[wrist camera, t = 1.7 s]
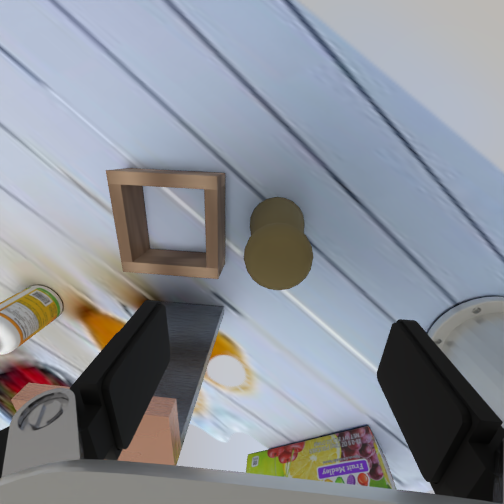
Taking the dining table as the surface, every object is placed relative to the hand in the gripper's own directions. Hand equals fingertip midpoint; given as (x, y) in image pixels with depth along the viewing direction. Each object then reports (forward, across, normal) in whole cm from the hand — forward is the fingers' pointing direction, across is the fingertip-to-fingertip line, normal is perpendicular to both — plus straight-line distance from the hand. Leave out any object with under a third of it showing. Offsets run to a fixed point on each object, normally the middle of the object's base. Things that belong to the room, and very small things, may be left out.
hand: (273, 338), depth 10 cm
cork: (+19, -1, 0) cm, 19 cm away
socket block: (+19, +10, 0) cm, 21 cm away
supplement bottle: (+19, +30, +13) cm, 38 cm away
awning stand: (+19, +10, +10) cm, 24 cm away
